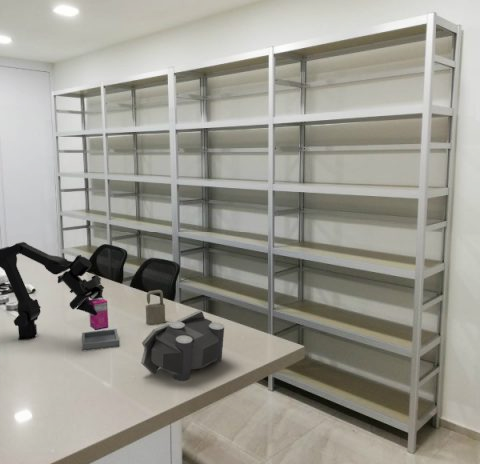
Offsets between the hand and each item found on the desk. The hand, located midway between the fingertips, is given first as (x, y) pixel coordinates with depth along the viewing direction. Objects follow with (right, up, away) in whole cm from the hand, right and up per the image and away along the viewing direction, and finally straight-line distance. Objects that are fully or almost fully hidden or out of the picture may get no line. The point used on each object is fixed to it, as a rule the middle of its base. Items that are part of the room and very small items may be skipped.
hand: (101, 311), depth 204 cm
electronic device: (+37, -17, -22) cm, 46 cm away
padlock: (+18, -9, +26) cm, 32 cm away
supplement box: (-1, -7, +1) cm, 7 cm away
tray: (-1, -13, +2) cm, 13 cm away
